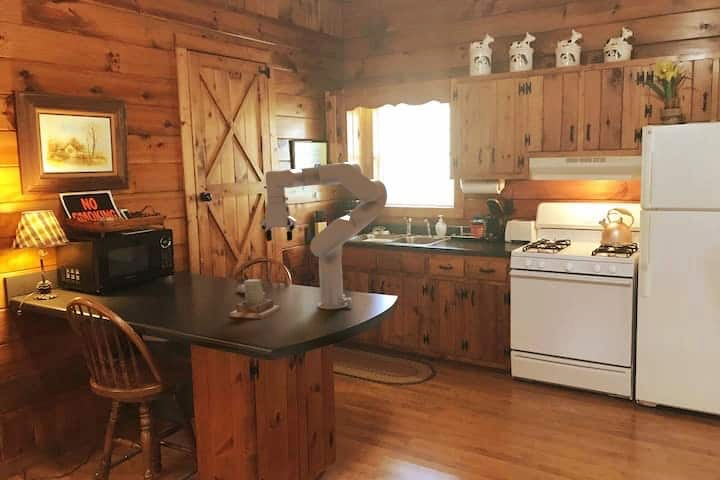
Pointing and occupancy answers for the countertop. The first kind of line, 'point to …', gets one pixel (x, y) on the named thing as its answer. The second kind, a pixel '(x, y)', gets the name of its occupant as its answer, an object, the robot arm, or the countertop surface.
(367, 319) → the countertop surface
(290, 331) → the countertop surface
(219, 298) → the countertop surface
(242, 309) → the socket stand
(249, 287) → the skincare box
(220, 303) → the countertop surface
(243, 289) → the white elongated piece
